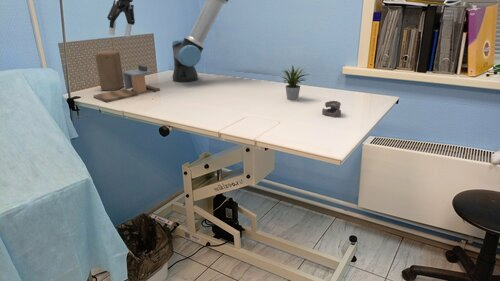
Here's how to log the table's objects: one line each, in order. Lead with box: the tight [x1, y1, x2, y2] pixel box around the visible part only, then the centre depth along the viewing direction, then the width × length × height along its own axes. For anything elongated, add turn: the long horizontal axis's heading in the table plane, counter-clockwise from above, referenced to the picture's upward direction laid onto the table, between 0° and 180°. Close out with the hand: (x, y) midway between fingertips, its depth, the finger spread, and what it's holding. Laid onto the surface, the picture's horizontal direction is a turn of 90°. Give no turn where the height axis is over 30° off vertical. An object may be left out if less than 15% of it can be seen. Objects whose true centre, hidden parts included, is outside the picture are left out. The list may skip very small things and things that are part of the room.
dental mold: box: [321, 100, 342, 118], centre depth 150 cm, size 8×7×5 cm
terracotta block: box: [131, 74, 147, 94], centre depth 191 cm, size 5×5×9 cm
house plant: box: [281, 64, 310, 101], centre depth 169 cm, size 14×14×16 cm
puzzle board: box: [93, 84, 161, 103], centre depth 188 cm, size 30×14×1 cm, turn 136°
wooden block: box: [94, 50, 125, 91], centre depth 197 cm, size 10×10×20 cm
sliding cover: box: [122, 64, 153, 90], centre depth 190 cm, size 10×12×12 cm
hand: (119, 35), depth 185 cm, fingers open, 13 cm apart
